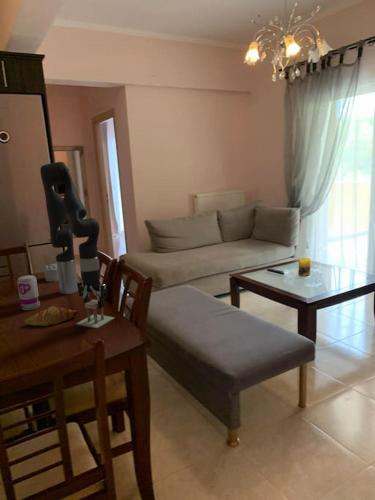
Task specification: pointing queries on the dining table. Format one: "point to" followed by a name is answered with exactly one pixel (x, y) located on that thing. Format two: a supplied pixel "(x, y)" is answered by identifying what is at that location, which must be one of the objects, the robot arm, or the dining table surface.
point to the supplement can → (28, 292)
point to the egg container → (51, 272)
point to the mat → (92, 323)
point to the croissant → (51, 316)
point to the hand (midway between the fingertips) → (94, 307)
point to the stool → (93, 305)
